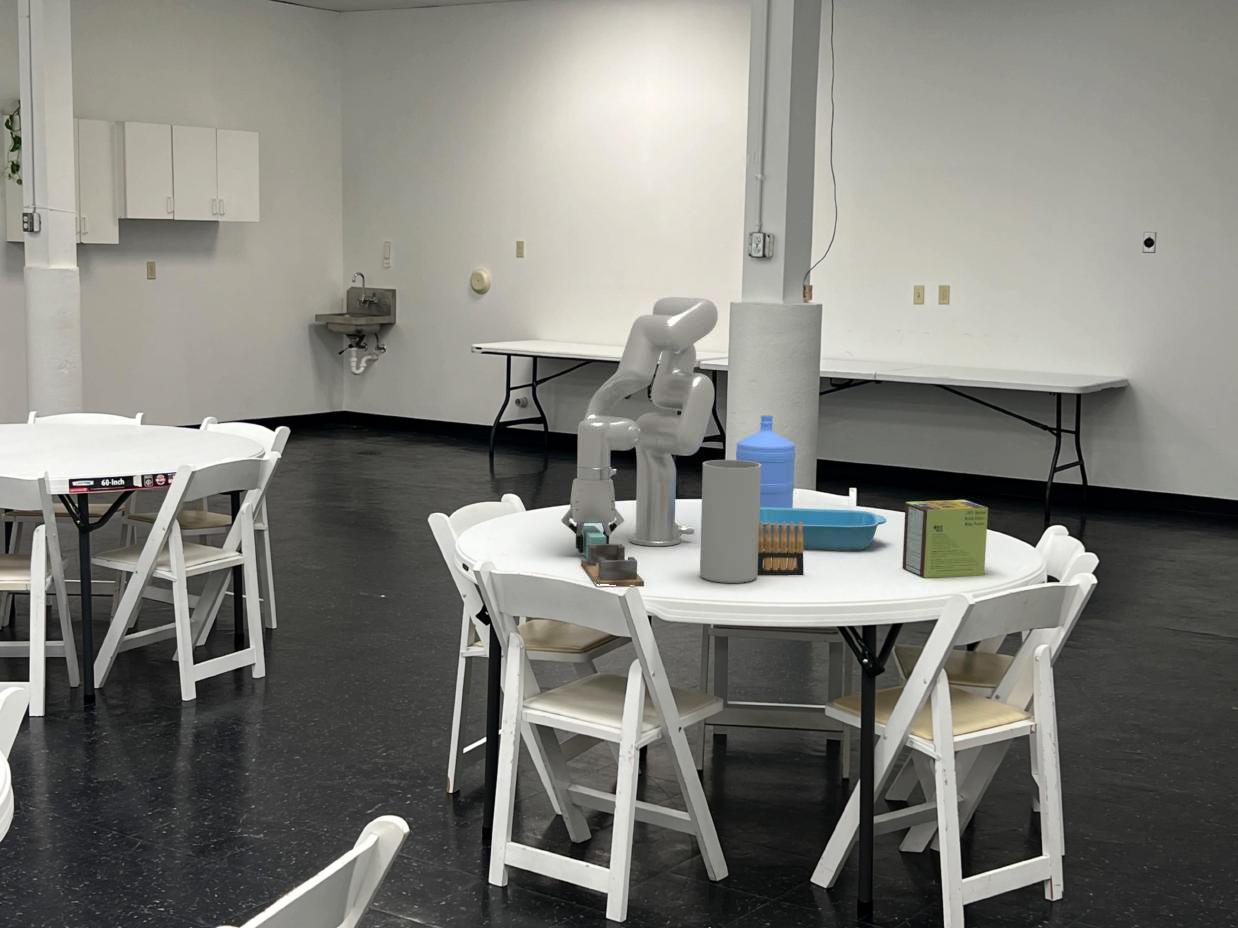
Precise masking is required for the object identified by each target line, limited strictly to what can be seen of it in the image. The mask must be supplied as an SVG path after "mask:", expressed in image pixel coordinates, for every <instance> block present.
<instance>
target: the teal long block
mask: <svg viewBox="0 0 1238 928" xmlns="http://www.w3.org/2000/svg"><path fill="white" fill-rule="evenodd" d="M582 536H583V552H582V553H583V554H584V555H583V554H582V553H581V554H582V555H583V556H584V558H585V559H586V560H587V559H588V544H606V536H605V535H604V534H603V531H601V530H600V529H599V528H598V527H596V526H595V525H584V526H583V529H582Z"/></svg>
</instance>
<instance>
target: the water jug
mask: <svg viewBox="0 0 1238 928" xmlns="http://www.w3.org/2000/svg"><path fill="white" fill-rule="evenodd" d="M760 418H761V419H760V430H759V431H757V432H755V433H753V434H751V435H749V436H747V437H745V438H742V439H740V440H738V441H737V442H736V449H735V458H736V459H735V460H741V461H750V462H756V463H759V464H761V484H760V507H772V508H794V506H793V505H794V491H795V490H794V489H795V479H794V478H795V477H794V476H795V459H796V450H795V449H796V445H795V443H794V442H793V441H791V440H789V439H787V438H785V437H783V436H781V435H779V434H777V433H776V432H774V431H773V424H774V423H773V418H774V416H773V415H767V414H766V415H760Z"/></svg>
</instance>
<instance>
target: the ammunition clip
mask: <svg viewBox="0 0 1238 928" xmlns="http://www.w3.org/2000/svg"><path fill="white" fill-rule="evenodd" d="M779 545H780V548H779ZM804 571H805V570H804V549H803V526H802V522H801V521H800V523H799V525H798V532H797V539H796V549H795V527H794V522H793V521H792V522H791V525H790V531H789V539H788V548H787V527H786V522H785V521H784V522H783V525H782V531H781V539H780V540H779V526H778V522H777V521H776V522H775V526H774V534H773V540H772V539H771V525H770V522H769V521H768V523H767V526H766V534H765V540H764V538H763V524H762V521H760V523H759V543H758V573H757V576H788V575H803V576H804V575H805V574H804V573H805V572H804Z"/></svg>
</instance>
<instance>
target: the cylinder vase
mask: <svg viewBox="0 0 1238 928" xmlns="http://www.w3.org/2000/svg"><path fill="white" fill-rule="evenodd" d="M760 484H761V464H759V463H756V462H750V461H741V460H736V459H716V460H714V459H713V460H707V461H704V462H702V489H701V520H700V554H699V555H700V557H699V559H700V560H699V575H700V576H701V578H702V579H704V580H706V581H710V582H713V583H720V584H721V583H722V584H744V582H745V583H749V581H750V582H752V581H754V580H756V579H757V578H758V575H757V573H758V543H759V514H760Z"/></svg>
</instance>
